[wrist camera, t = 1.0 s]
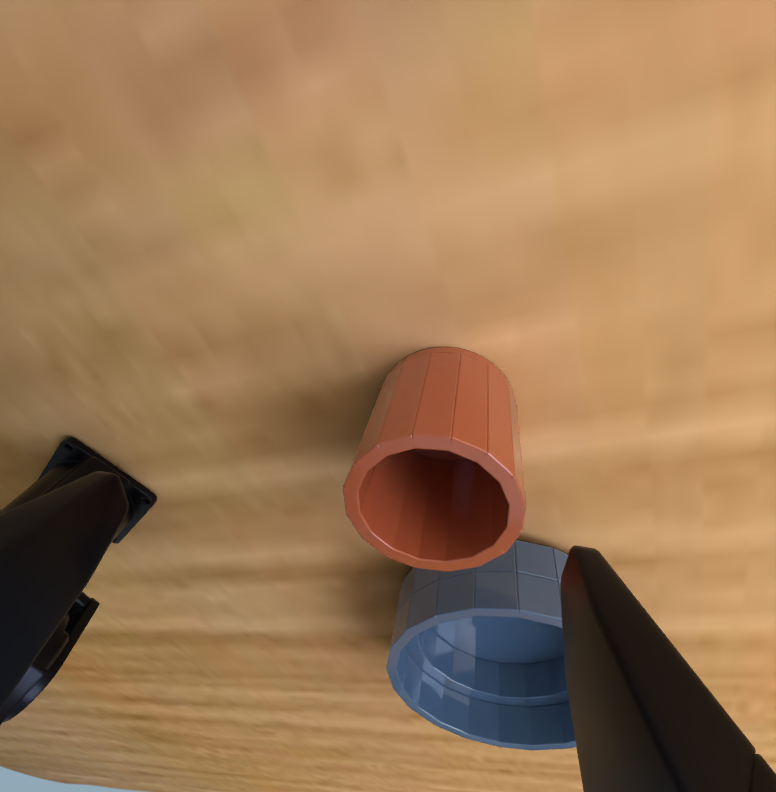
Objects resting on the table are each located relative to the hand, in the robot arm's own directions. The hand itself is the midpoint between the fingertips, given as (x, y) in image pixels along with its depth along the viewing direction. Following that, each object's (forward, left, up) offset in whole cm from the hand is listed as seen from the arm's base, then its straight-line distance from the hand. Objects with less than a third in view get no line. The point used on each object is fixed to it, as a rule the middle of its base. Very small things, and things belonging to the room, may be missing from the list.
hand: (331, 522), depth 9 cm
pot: (-3, -5, -13) cm, 15 cm away
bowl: (-11, -18, -13) cm, 25 cm away
